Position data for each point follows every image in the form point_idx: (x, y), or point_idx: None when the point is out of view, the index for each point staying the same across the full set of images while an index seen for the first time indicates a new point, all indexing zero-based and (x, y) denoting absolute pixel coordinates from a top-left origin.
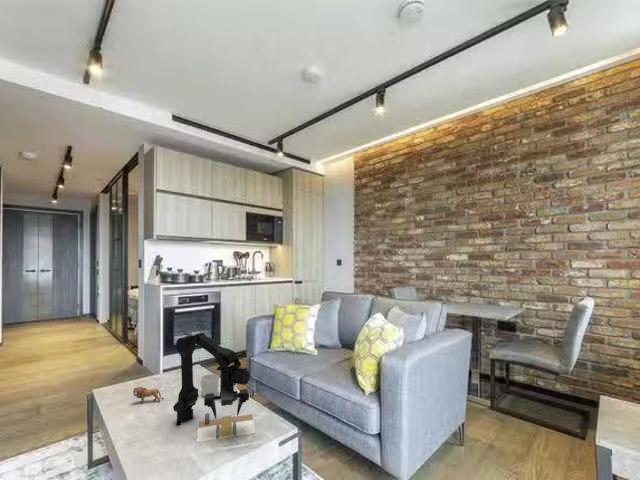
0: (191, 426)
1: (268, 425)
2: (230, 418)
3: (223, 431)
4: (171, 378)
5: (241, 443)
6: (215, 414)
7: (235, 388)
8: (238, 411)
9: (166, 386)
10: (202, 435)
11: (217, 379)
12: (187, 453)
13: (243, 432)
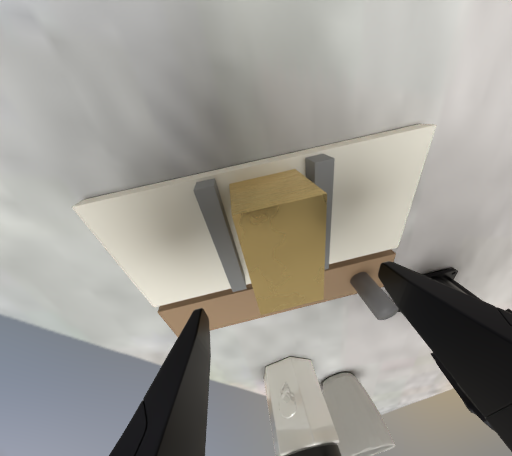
0: (406, 266)
1: (57, 285)
2: (261, 289)
3: (288, 182)
4: (408, 397)
5: (138, 109)
6: (432, 289)
7: (276, 438)
8: (179, 351)
9: (423, 381)
10: (390, 191)
11: (344, 448)
12: (490, 18)
13: (160, 212)
